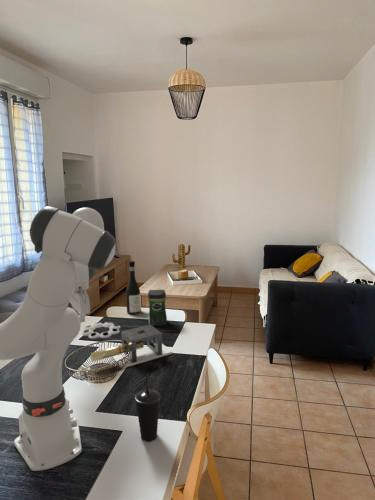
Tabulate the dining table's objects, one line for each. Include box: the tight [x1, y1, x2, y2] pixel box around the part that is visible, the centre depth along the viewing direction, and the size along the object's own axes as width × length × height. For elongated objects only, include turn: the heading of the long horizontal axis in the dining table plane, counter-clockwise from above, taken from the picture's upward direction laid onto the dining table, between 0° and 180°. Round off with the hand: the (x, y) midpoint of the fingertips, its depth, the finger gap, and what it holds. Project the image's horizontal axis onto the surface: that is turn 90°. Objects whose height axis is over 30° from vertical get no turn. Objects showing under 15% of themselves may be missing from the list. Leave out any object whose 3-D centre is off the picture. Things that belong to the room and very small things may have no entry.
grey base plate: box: [111, 343, 173, 369], centre depth 165 cm, size 24×11×1 cm, turn 122°
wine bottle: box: [125, 260, 142, 315], centre depth 213 cm, size 8×8×30 cm
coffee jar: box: [147, 289, 168, 327], centre depth 198 cm, size 10×8×19 cm
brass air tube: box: [90, 340, 145, 363], centre depth 159 cm, size 22×4×4 cm, turn 122°
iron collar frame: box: [121, 324, 163, 363], centre depth 164 cm, size 14×11×10 cm
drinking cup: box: [134, 375, 161, 443], centre depth 113 cm, size 8×8×20 cm
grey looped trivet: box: [81, 321, 121, 340], centre depth 192 cm, size 20×20×2 cm
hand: (79, 318), depth 147 cm, fingers open, 7 cm apart
